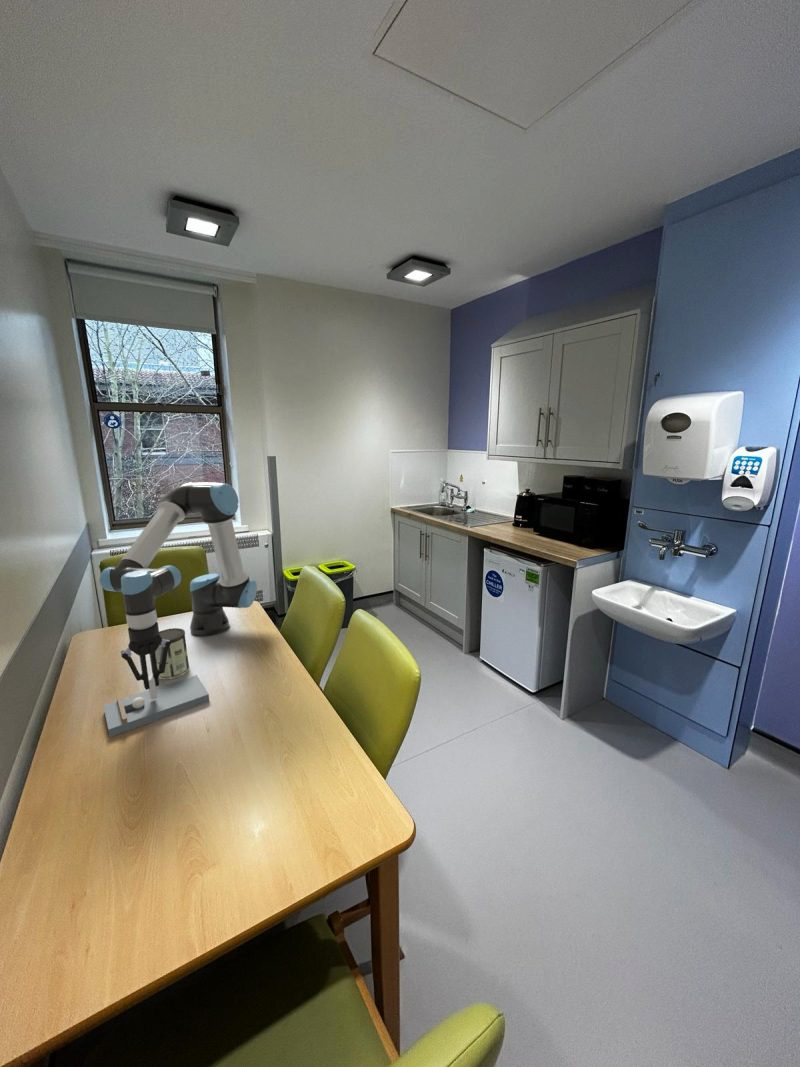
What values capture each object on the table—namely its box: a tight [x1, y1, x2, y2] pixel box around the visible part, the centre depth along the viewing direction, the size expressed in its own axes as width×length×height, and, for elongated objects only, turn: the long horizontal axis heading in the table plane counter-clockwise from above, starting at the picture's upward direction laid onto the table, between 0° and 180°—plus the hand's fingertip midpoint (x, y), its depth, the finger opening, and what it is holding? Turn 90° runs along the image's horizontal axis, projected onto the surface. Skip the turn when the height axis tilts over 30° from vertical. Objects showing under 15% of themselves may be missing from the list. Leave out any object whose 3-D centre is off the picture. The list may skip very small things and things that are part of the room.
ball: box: [132, 697, 145, 710], centre depth 127 cm, size 3×3×3 cm
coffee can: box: [155, 627, 190, 680], centre depth 148 cm, size 10×10×14 cm
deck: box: [102, 674, 210, 738], centre depth 130 cm, size 26×14×4 cm, turn 129°
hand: (153, 696), depth 129 cm, fingers closed
